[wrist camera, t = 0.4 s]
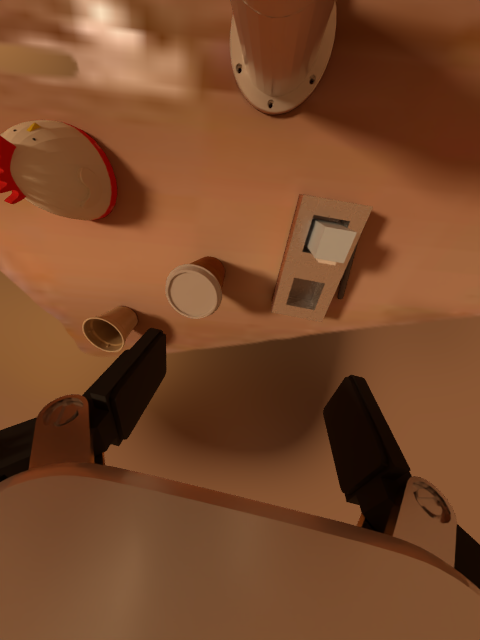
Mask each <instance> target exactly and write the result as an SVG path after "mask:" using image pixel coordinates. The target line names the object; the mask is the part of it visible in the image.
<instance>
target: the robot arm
mask: <svg viewBox="0 0 480 640" xmlns="http://www.w3.org/2000/svg"><path fill="white" fill-rule="evenodd" d="M230 1H231V6H232V10H233V16H232V22H231V30H230V55H231V63H232V67H233V72H234V76H235V79H236V81H237V84H238V86H239V88H240V90H241V92H242V94H243V96H244V97H245V98H246V100H247V101H248V102H249V103H250V104H251V105H252V106H253V107H254V108H255V109H257V110H259V111H261V112H263V113H267V114H271V115H275V114H283V113H286V112H289V111H291V110H293V109H295V108H296V107H298V106H299V105H300V104H301V103H303V102H304V101H305V100H306V99H307V98H308V97H309V95H310V94H311V93H312V92H313V91H314V89H315V88H316V86H317V84H318V83H319V81H320V80H321V77H322V75H323V73H324V71H325V69H326V67H327V64H328V61H329V58H330V56H331V52H332V48H333V44H334V40H335V32H336V17H337V7H336V0H230ZM239 69H241V70H242V72H241V73H238V70H239ZM310 80H313V84H312V85H311V84H310ZM270 104H272V105H273V106H272V108H269V105H270ZM165 374H166V335H165V334H163V331H162V330H158V329H154V328H150V329H148V330H147V332H146V333H145V334H144V335H143V336H142V337H141V338H140V339H139V340H138V341H137V342H136V343H135V345H134V346H133V347H132V348H131V349H130V350H125V351H124V352H123V353H122V354H121V355H120V356H119V357H118V358H117V359H116V360H115V361H114V363H113V364H112V365H111V366H110V367H109V368H108V369H107V370H106V371H105V372H104V373H103V374H102V375H101V376H100V377H99V379H98V380H97V381H96V382H95V383H94V384H93V385H92V386H91V387H90V388H89V389H88V390H87V391H86V392H85V393H84V394H83V395H82V396H81V395H78V394H71V395H66V396H62V397H59V398H57V399H55V400H53V401H52V402H50V403H48V404H47V405H46V406H45V407H44V408H43V409H42V410H41V411H40V413H39V414H38V416H37V418H34V419H31V420H28V421H26V422H23V423H20V424H17V425H14V426H11V427H8V428H6V429H3V430H0V640H480V545H479V544H478V543H477V542H476V541H475V540H474V539H473V538H472V537H471V536H470V535H469V534H467V533H466V532H465V531H464V530H463V529H462V528H461V527H460V526H459V525H457V521H456V515H455V513H454V510H453V508H452V506H451V505H450V503H449V502H448V500H447V499H446V498H445V496H444V495H443V494H442V493H441V492H440V491H439V490H438V489H437V488H436V487H435V486H434V485H433V484H431V483H430V482H428V481H427V480H425V479H423V478H421V477H416V476H413V477H412V476H411V474H410V472H409V471H410V468H409V466H408V464H407V462H406V460H405V458H404V456H403V454H402V452H401V450H400V448H399V446H398V444H397V442H396V440H395V438H394V436H393V434H392V432H391V430H390V428H389V426H388V424H387V422H386V420H385V418H384V416H383V415H382V412H381V410H380V408H379V406H378V404H377V402H376V400H375V398H374V396H373V394H372V393H371V390H370V388H369V386H368V384H367V382H366V380H365V379H364V378H362V377H358V376H354V375H350V376H349V377H345V378H344V380H343V381H342V383H341V384H340V386H339V387H338V389H337V390H336V392H335V393H334V395H333V396H332V397H331V399H330V400H329V402H328V403H327V405H326V406H325V408H324V410H323V415H324V419H325V424H326V428H327V433H328V437H329V441H330V445H331V450H332V454H333V458H334V463H335V466H336V471H337V475H338V480H339V484H340V488H341V490H342V492H343V493H345V497H346V501H347V502H350V503H353V504H357V505H360V508H361V512H362V513H361V516H360V518H359V521H358V523H357V526H354V525H350V524H347V523H343V522H339V521H335V520H331V519H327V518H323V517H319V516H315V515H311V514H307V513H303V512H299V511H296V510H292V509H288V508H284V507H279V506H275V505H271V504H267V503H263V502H259V501H255V500H251V499H247V498H243V497H239V496H235V495H231V494H227V493H223V492H219V491H215V490H211V489H206V488H203V487H198V486H194V485H190V484H186V483H182V482H178V481H174V480H169V479H165V478H161V477H157V476H153V475H148V474H144V473H139V472H135V471H130V470H126V469H121V468H117V467H111V466H106V465H105V457H104V452H105V451H107V449H108V447H109V445H110V444H113V445H117V446H119V445H120V444H121V442H122V440H123V439H127V438H128V437H129V435H130V434H131V432H132V430H133V429H134V427H135V425H136V424H137V422H138V420H139V419H140V417H141V415H142V414H143V412H144V410H145V408H146V407H147V405H148V404H149V402H150V400H151V398H152V397H153V395H154V393H155V392H156V390H157V388H158V387H159V385H160V383H161V382H162V380H163V378H164V377H165Z"/></svg>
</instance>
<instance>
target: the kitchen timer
mask: <svg viewBox="0 0 480 640" xmlns="http://www.w3.org/2000/svg"><path fill="white" fill-rule="evenodd" d="M11 190H12V194H11V195H10V196H9V197H8V198H6V199H5V202H8V203H10V204H14V203H17V202H19V201H21V200H22V199H26V200H27V201H29V202H30V203H32V204H33V205H35V206H37V207H39V208H41V209H43V210H46V211H48V212H50V213H53V214H56V215H59V216H63V217H67V218H72V219H79V220H95V219H100V218H104V217H105V216H107V215H108V214H109V213H111V211H112V209H113V208H114V206H115V204H116V198H117V184H116V178H115V175H114V172H113V168H112V166H111V164H110V162H109V160H108V158H107V156H106V154H105V153H104V151H103V150H102V149H101V148H100V146H99V145H98V144H97V143H96V141H95V140H94V139H92V138H91V137H90V136H89V135H88V134H86V133H85V132H84V131H83V130H80V129H78V128H76V127H74V126H72V125H69V124H66V123H63V122H59V121H48V120H36V121H29V122H24V123H21V124H18V125H16V126H13V127H11V128H9V129H8V130H6V131H5V132H3V133H2V134H1V135H0V193H4V192H7V191H11Z"/></svg>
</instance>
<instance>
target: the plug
mask: <svg viewBox="0 0 480 640" xmlns="http://www.w3.org/2000/svg"><path fill="white" fill-rule="evenodd" d="M356 234H357V232H355V231H353V230H351V229H349V228H347V227H345V226H343V225H340V224H338V223H336V222H330V221H325V220H319V219H314V218H312V221H311V225H310V228H309V231H308V234H307V238H306V241H305V244H306V245H307V247H308V249H309V250H310V252H311V253H312V255H313V256H314V258H316V260H317V261H318V262H319V263H325V264H330V265H336V262H339V263H344V261H345V259H346V257H347V254H348V252H349V250H350V247H351V245H352V243H353V241H354V238H355V236H356Z"/></svg>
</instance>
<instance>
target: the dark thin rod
mask: <svg viewBox="0 0 480 640" xmlns="http://www.w3.org/2000/svg"><path fill="white" fill-rule="evenodd" d="M357 243H358V242H357ZM356 247H357V244H356V246H355V249H354V251H353V253H352V255H351V258H350V260H349V262H348V264H347V267H346V269H345V271H344V274H343V278H342V282H341V286H340V290H339V294H338V299H342V298H343V296H344V292H345V289H346V285H347V281H348V277H349V273H350V270H351V266H352V262H353V258H354V255H355V251H356Z"/></svg>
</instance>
